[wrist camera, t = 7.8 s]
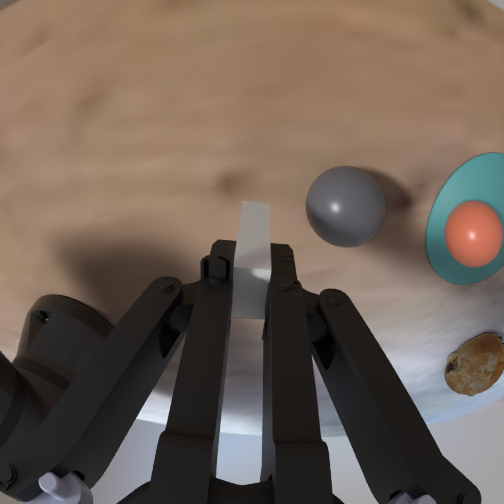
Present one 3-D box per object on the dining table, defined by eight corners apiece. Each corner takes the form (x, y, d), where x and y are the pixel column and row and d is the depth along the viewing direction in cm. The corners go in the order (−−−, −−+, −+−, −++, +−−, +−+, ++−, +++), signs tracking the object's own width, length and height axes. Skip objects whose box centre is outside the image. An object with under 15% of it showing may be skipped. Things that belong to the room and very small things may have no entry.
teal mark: (463, 302, 28) (463, 304, 27) (397, 231, 24) (397, 232, 24) (543, 219, 21) (544, 219, 21) (497, 120, 17) (498, 121, 17)
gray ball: (322, 273, 20) (330, 237, 24) (401, 245, 17) (393, 213, 22) (283, 198, 18) (299, 176, 23) (368, 162, 16) (364, 147, 20)
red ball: (440, 277, 21) (456, 256, 24) (501, 276, 17) (507, 254, 20) (431, 210, 20) (448, 199, 24) (495, 202, 16) (500, 192, 19)
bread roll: (456, 315, 34) (455, 361, 28) (517, 324, 29) (522, 369, 23) (439, 360, 39) (433, 402, 33) (493, 367, 34) (492, 409, 28)
